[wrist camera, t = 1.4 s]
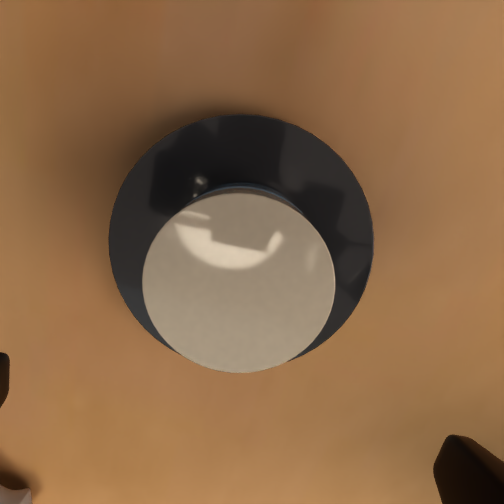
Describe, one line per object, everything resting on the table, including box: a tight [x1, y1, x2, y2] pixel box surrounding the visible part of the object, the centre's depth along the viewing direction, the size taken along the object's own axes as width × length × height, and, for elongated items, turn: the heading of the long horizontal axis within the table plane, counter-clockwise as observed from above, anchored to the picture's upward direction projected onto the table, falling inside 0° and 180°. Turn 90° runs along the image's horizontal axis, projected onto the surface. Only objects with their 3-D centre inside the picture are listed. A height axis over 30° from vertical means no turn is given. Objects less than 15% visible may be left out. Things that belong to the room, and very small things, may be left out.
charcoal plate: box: [109, 114, 374, 362], centre depth 18 cm, size 13×13×1 cm
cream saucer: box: [142, 188, 335, 373], centre depth 14 cm, size 7×7×2 cm
